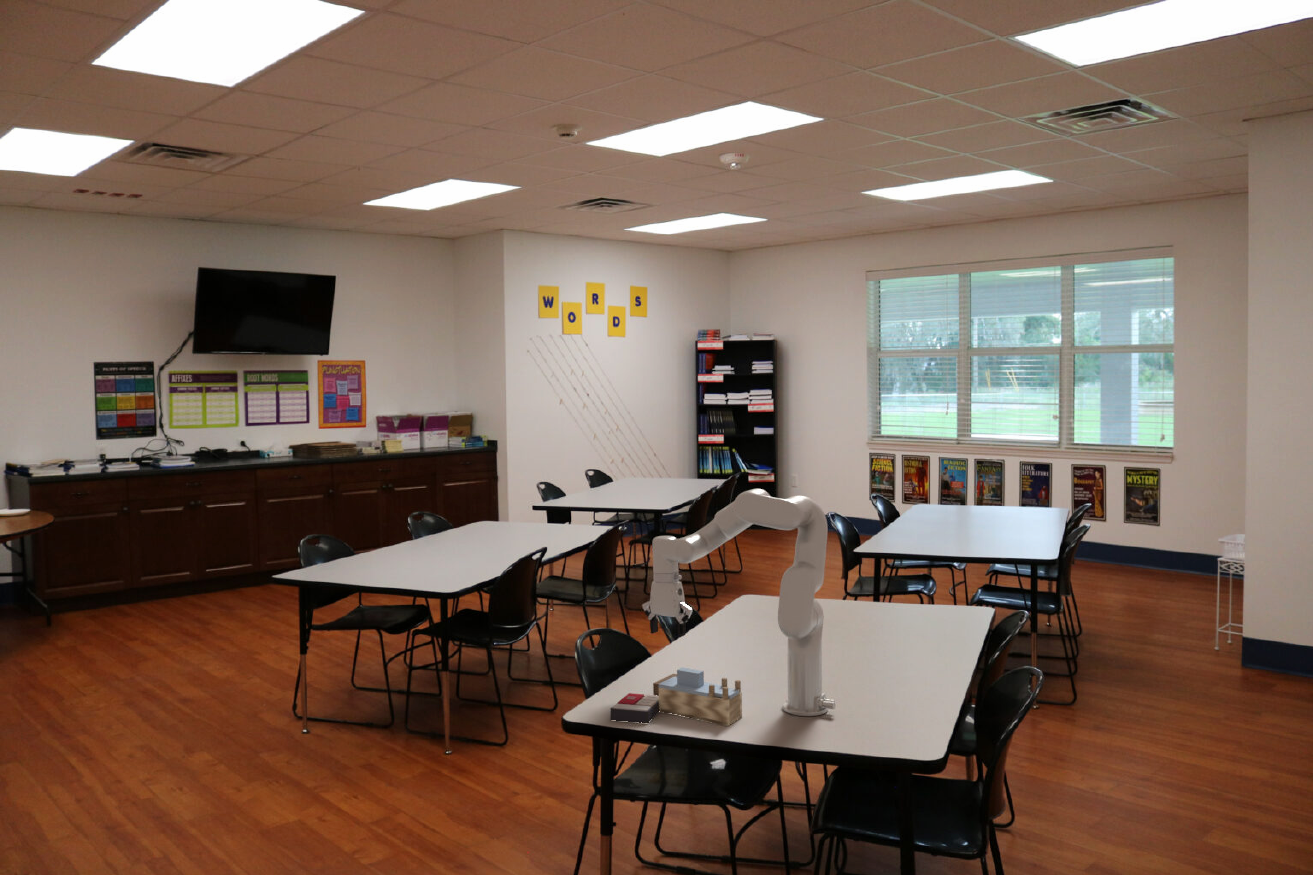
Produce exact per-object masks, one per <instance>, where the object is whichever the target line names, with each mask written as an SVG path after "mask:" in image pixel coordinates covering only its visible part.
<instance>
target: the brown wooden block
mask: <svg viewBox="0 0 1313 875" xmlns="http://www.w3.org/2000/svg"><path fill="white" fill-rule="evenodd" d="M672 677H677V673H672V674H670V675H667V676H665V677H664V678H661V679H659V680H657V681H655V682H653V684H652V687H653V688H652V689H653V692H652V693H653V694H652V695H657V696H659V684H660V683H662V682H664V681H666V680H668V679H670V678H672Z"/></svg>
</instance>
